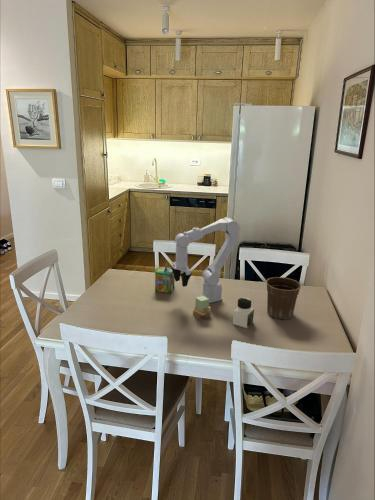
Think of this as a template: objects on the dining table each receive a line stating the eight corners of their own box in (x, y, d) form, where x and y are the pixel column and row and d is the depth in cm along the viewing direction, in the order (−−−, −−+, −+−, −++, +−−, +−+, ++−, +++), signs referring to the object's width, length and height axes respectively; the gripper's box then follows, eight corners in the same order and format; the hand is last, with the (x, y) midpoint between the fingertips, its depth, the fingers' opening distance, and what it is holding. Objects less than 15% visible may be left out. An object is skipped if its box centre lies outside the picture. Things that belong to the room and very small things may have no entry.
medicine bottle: (247, 328, 163) (249, 304, 160) (232, 324, 167) (234, 300, 163) (253, 322, 169) (255, 298, 165) (239, 318, 173) (240, 294, 169)
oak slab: (202, 308, 177) (202, 303, 176) (210, 311, 173) (210, 307, 173) (194, 311, 173) (194, 306, 173) (202, 315, 170) (202, 310, 169)
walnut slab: (203, 312, 178) (203, 308, 177) (210, 318, 173) (210, 313, 172) (192, 315, 175) (193, 310, 174) (199, 320, 170) (199, 315, 169)
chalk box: (159, 285, 207) (159, 260, 202) (174, 287, 205) (175, 262, 201) (154, 291, 198) (154, 266, 194) (170, 293, 197) (171, 268, 192)
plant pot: (274, 303, 189) (278, 274, 184) (303, 314, 178) (307, 283, 173) (256, 313, 178) (259, 282, 173) (285, 325, 167) (289, 293, 162)
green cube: (203, 304, 176) (203, 295, 174) (208, 307, 172) (209, 299, 171) (195, 306, 173) (195, 297, 172) (200, 309, 170) (201, 301, 168)
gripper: (167, 254, 184) (167, 279, 188) (181, 263, 172) (181, 290, 176) (179, 252, 187) (179, 277, 191) (194, 261, 175) (193, 287, 179)
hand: (181, 283), depth 184 cm, fingers open, 7 cm apart
